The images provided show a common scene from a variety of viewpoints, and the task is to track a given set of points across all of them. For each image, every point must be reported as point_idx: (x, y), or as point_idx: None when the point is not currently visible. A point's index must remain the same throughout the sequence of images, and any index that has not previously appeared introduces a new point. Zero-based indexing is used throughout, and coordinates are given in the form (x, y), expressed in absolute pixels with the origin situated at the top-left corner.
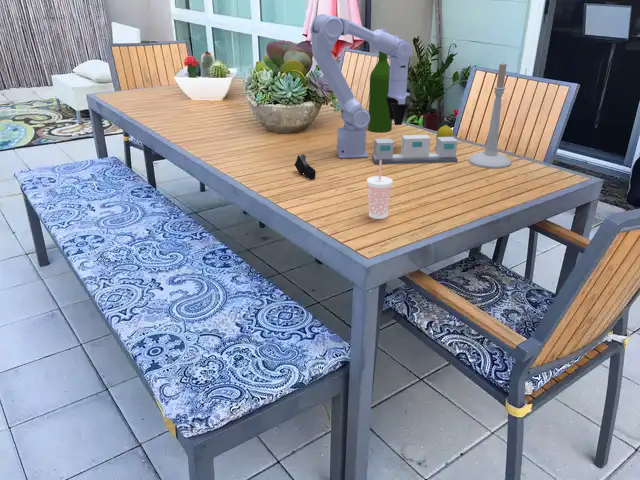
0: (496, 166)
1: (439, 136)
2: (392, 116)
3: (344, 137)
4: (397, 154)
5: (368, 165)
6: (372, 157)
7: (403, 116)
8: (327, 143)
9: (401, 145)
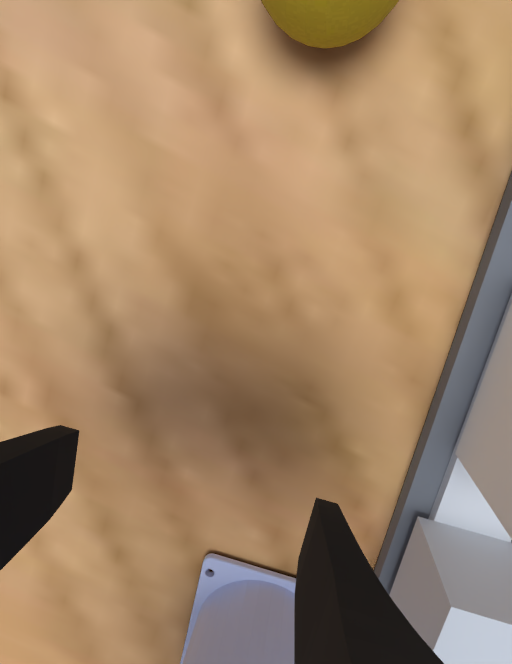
0: None
1: (361, 15)
2: (53, 493)
3: None
4: (456, 479)
5: None
6: None
7: (377, 581)
8: (28, 650)
9: (483, 491)
